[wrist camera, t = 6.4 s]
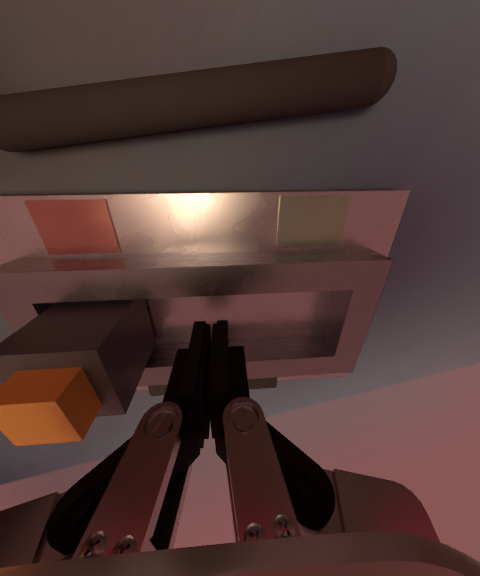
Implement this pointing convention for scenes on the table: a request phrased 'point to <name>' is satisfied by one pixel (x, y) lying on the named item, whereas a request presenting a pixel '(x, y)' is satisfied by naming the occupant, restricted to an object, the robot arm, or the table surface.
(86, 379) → the lever
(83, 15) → the table surface
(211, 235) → the breaker board
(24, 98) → the brown rounded rod
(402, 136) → the table surface
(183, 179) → the table surface
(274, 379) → the dark brown bar
